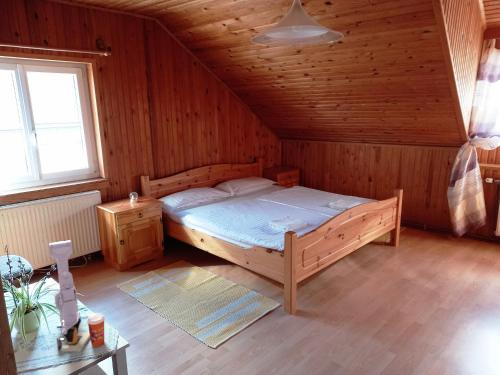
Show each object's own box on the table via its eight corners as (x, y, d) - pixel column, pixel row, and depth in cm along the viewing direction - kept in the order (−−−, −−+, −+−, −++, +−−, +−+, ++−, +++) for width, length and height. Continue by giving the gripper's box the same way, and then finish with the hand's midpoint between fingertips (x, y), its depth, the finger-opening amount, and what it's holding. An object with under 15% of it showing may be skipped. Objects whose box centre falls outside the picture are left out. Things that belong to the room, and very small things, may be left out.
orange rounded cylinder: (70, 338, 173) (68, 326, 171) (79, 338, 173) (78, 326, 172) (65, 344, 169) (64, 332, 167) (75, 344, 169) (74, 332, 167)
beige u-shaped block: (73, 334, 177) (72, 331, 177) (91, 335, 178) (91, 332, 177) (61, 351, 166) (60, 348, 165) (80, 351, 166) (80, 348, 166)
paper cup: (93, 351, 167) (90, 324, 163) (86, 343, 172) (83, 316, 168) (109, 343, 172) (107, 317, 169) (102, 335, 177) (100, 310, 174)
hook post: (58, 347, 169) (57, 337, 167) (65, 347, 169) (64, 337, 167) (56, 349, 167) (55, 340, 166) (63, 349, 167) (62, 340, 166)
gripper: (68, 303, 174) (70, 328, 177) (53, 321, 160) (56, 348, 163) (83, 303, 175) (85, 328, 178) (69, 321, 160) (72, 348, 164)
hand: (72, 338), depth 171 cm, fingers closed on orange rounded cylinder, 4 cm apart
